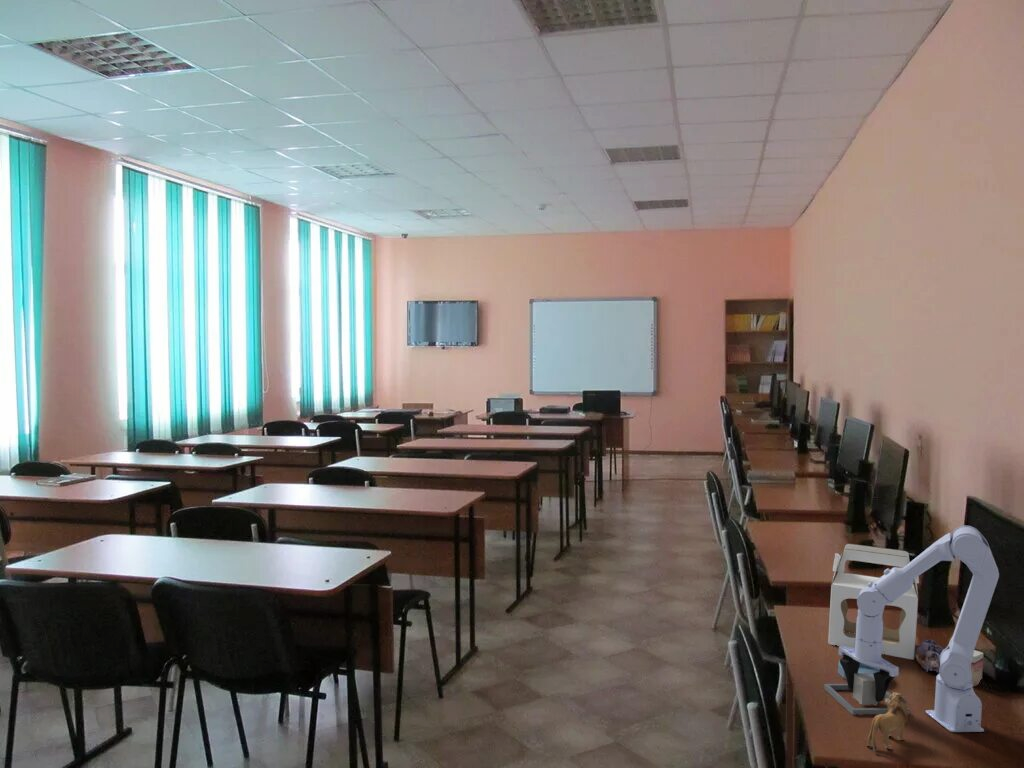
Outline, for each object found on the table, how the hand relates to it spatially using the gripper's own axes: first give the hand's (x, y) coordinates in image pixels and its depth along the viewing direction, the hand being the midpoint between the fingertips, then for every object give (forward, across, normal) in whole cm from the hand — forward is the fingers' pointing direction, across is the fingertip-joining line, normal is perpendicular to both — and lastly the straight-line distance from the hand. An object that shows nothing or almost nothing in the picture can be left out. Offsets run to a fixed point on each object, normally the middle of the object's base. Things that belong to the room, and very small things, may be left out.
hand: (865, 694), depth 188 cm
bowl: (+2, +9, -12) cm, 16 cm away
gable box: (+2, +22, -34) cm, 41 cm away
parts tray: (+2, 0, 0) cm, 2 cm away
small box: (+2, -6, -34) cm, 35 cm away
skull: (+2, +5, -34) cm, 35 cm away
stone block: (+2, 0, 0) cm, 2 cm away
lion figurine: (+2, -14, +13) cm, 19 cm away
